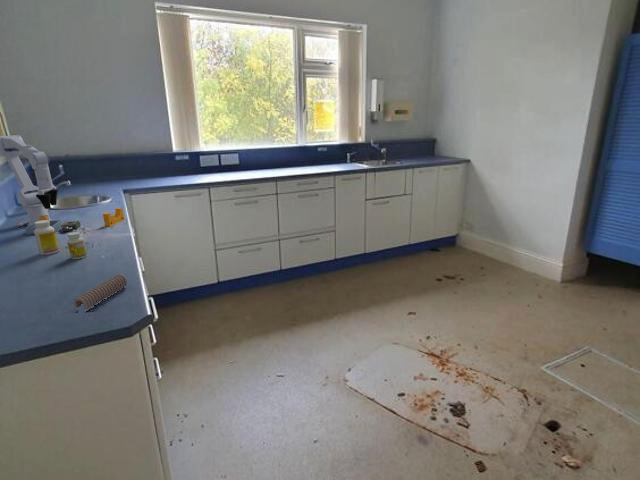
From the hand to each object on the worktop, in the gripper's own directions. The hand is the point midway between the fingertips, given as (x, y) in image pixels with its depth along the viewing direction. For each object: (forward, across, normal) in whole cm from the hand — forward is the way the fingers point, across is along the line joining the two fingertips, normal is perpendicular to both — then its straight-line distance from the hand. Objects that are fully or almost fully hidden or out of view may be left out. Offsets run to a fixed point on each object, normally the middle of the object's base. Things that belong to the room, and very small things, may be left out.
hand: (50, 206), depth 184 cm
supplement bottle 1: (+10, -40, -11) cm, 43 cm away
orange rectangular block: (+10, -4, +2) cm, 11 cm away
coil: (+11, -90, -42) cm, 100 cm away
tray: (+10, -4, +3) cm, 11 cm away
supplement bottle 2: (+10, -49, -24) cm, 56 cm away
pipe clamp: (+11, 0, -26) cm, 28 cm away
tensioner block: (+10, -6, -8) cm, 14 cm away
